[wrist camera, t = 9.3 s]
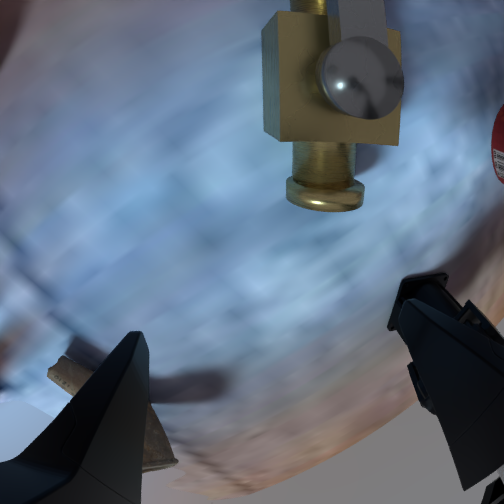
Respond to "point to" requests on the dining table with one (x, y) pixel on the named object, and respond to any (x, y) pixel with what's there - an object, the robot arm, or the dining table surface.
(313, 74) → the valve
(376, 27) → the lever
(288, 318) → the dining table surface
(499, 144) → the canned food
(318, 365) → the dining table surface
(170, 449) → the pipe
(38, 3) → the dining table surface
